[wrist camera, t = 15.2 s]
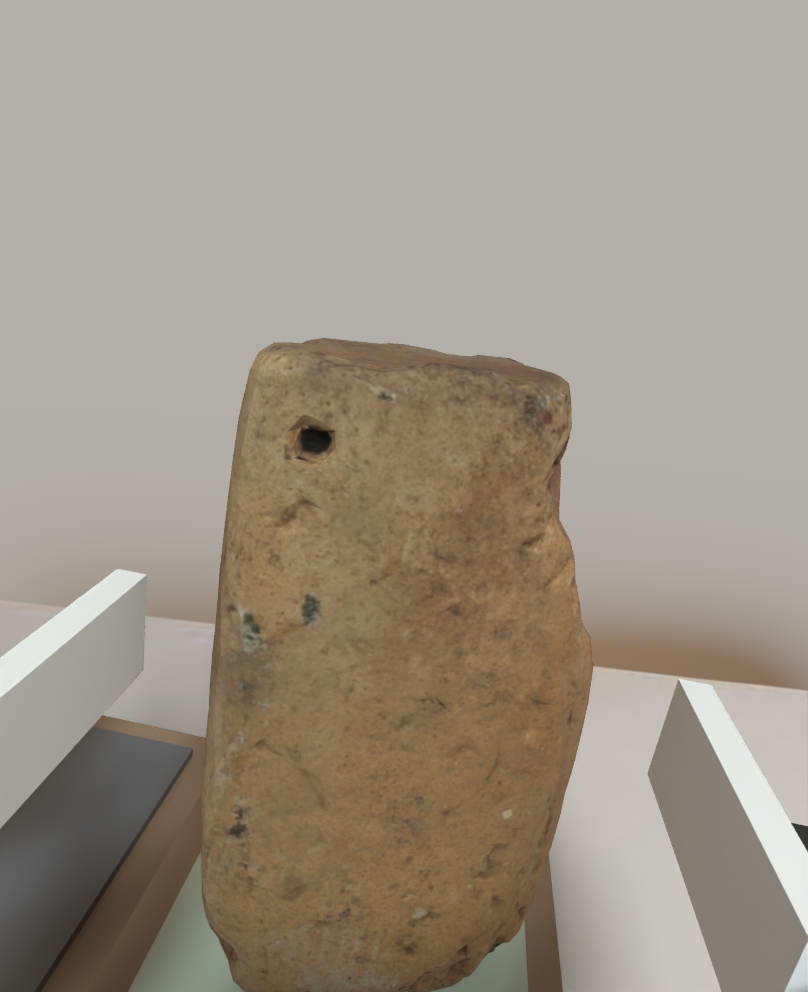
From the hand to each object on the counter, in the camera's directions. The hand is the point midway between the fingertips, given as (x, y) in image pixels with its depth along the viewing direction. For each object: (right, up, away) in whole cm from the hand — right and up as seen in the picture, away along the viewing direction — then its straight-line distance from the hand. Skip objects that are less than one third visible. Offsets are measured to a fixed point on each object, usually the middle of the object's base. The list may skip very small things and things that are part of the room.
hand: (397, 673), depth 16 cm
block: (-2, -11, +8) cm, 13 cm away
